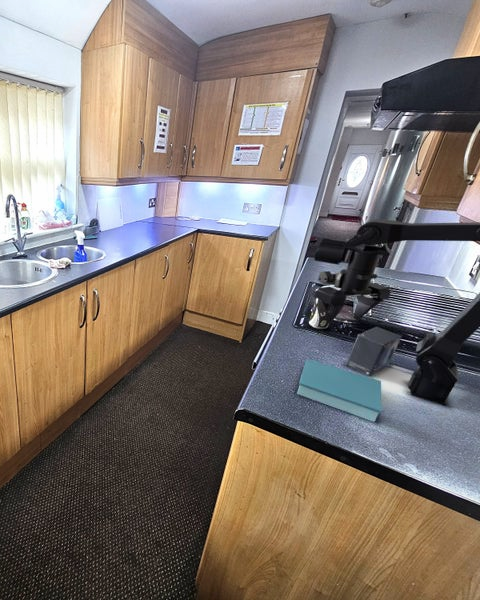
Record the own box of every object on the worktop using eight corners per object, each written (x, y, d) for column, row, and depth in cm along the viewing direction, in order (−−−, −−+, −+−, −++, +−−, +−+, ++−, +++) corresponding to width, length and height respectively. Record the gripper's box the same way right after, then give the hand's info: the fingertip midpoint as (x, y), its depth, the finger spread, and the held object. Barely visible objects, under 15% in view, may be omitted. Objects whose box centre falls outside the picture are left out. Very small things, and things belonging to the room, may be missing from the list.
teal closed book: (375, 392, 84) (381, 380, 83) (376, 423, 75) (382, 411, 73) (303, 368, 94) (307, 358, 92) (295, 394, 84) (299, 382, 82)
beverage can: (313, 329, 115) (323, 298, 110) (305, 322, 120) (314, 292, 115) (330, 330, 114) (341, 299, 109) (321, 323, 119) (331, 292, 114)
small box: (370, 377, 90) (385, 345, 86) (344, 365, 95) (356, 334, 91) (389, 367, 94) (403, 335, 90) (363, 355, 100) (375, 325, 95)
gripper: (360, 257, 95) (343, 306, 101) (305, 262, 92) (291, 312, 98) (401, 269, 85) (380, 322, 91) (341, 274, 82) (323, 329, 88)
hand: (342, 321), depth 92 cm, fingers open, 9 cm apart
